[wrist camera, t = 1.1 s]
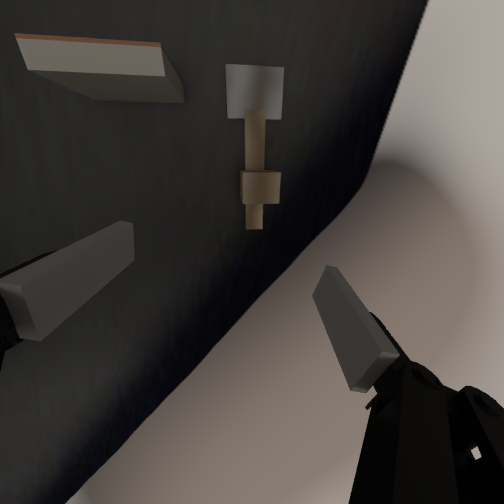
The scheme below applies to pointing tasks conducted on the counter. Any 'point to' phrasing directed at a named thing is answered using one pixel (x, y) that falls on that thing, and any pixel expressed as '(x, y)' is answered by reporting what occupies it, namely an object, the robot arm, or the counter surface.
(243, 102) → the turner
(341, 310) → the robot arm
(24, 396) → the counter surface
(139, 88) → the tile
